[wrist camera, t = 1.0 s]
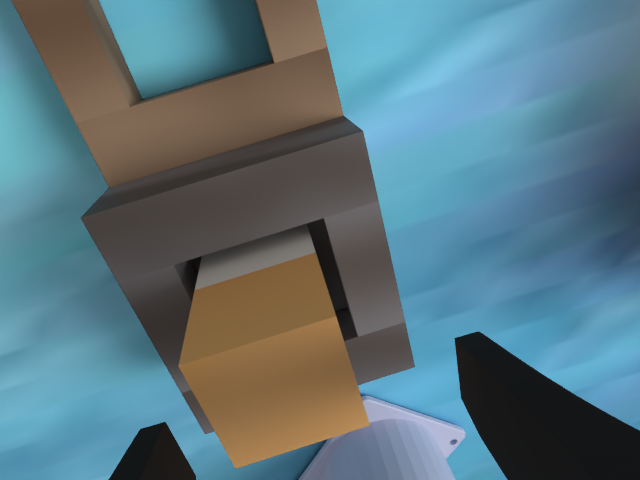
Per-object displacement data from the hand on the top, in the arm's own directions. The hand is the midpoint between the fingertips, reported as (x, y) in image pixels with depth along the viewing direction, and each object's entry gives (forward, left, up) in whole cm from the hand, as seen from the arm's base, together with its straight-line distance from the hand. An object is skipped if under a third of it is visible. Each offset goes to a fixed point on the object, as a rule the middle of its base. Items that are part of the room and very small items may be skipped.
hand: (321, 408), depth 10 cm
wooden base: (+3, +4, -10) cm, 12 cm away
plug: (-1, +1, -7) cm, 7 cm away
